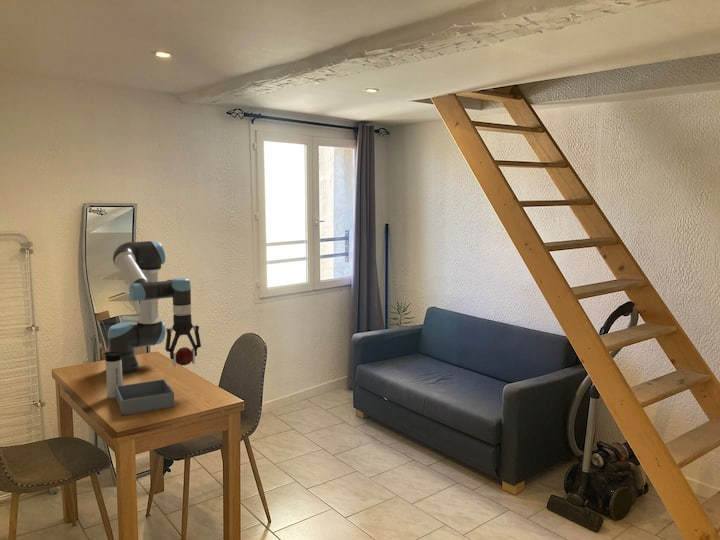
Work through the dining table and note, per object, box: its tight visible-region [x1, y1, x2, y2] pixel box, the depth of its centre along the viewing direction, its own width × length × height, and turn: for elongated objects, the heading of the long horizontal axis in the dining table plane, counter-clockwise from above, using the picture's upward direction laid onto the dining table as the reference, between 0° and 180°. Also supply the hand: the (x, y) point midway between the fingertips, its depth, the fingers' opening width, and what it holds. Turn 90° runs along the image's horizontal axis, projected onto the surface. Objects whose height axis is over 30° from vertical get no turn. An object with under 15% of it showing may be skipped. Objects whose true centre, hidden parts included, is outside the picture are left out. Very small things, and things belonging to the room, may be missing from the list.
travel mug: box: [104, 351, 124, 401], centre depth 238 cm, size 6×7×20 cm
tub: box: [115, 378, 175, 417], centre depth 232 cm, size 20×20×6 cm
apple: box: [175, 346, 193, 367], centre depth 243 cm, size 7×8×8 cm
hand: (183, 364), depth 243 cm, fingers closed on apple, 7 cm apart
